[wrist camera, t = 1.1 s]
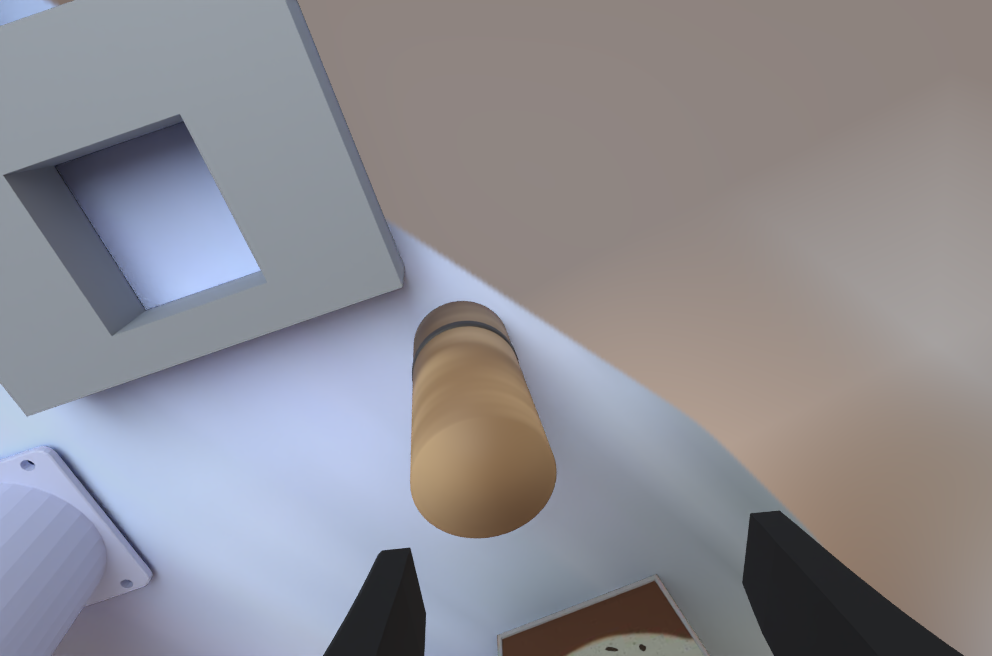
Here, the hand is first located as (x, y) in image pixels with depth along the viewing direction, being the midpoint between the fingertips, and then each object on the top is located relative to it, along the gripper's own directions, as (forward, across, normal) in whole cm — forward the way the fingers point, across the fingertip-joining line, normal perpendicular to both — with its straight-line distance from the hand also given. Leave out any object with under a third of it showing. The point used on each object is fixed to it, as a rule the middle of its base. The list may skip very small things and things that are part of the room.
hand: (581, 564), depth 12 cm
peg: (+12, +3, +1) cm, 13 cm away
